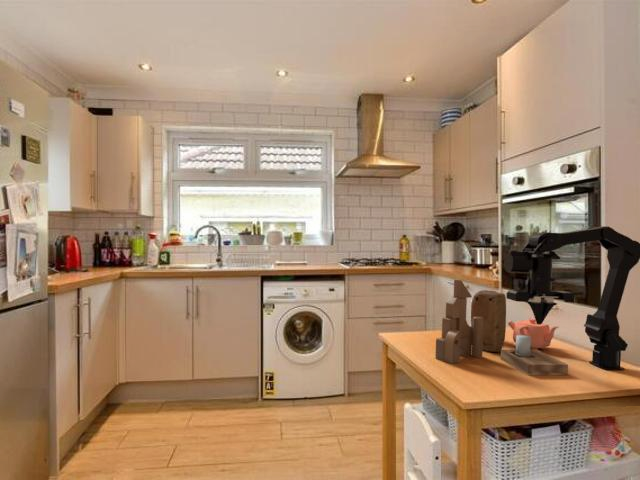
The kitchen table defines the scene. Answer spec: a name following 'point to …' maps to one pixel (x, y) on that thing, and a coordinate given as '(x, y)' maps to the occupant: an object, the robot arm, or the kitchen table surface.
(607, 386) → the kitchen table surface
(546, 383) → the kitchen table surface
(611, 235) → the robot arm
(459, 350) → the wooden toy
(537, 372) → the board
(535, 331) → the teapot
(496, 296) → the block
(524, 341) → the peg
